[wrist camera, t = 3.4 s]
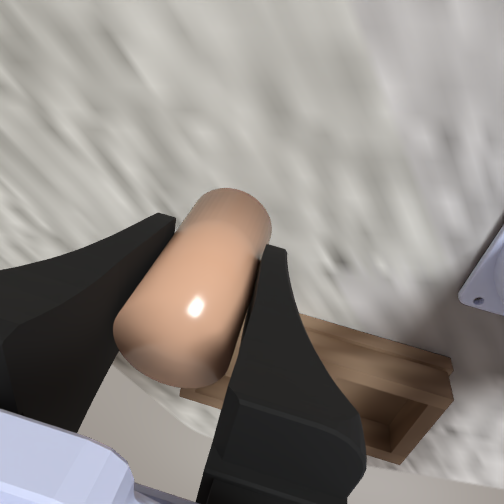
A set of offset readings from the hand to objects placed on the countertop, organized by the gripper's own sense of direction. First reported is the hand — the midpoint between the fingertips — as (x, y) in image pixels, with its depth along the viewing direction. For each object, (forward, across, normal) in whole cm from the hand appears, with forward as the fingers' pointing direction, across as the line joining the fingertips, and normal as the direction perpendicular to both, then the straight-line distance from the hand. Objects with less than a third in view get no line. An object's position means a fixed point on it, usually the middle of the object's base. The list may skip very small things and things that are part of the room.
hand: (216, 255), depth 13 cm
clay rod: (+2, 0, 0) cm, 2 cm away
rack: (+9, -6, +13) cm, 17 cm away
